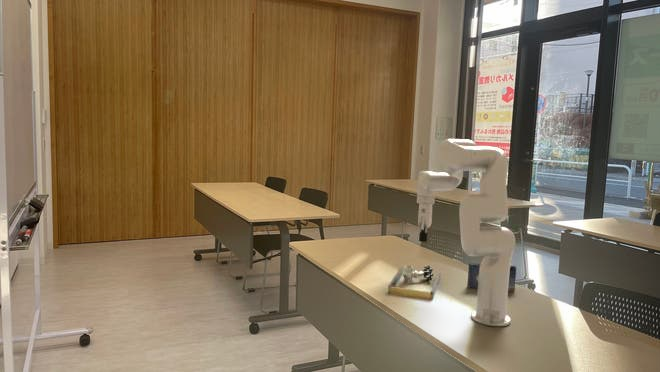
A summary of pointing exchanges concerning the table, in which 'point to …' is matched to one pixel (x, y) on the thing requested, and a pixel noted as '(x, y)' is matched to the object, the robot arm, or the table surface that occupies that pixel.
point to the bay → (410, 292)
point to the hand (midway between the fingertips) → (422, 241)
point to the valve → (416, 274)
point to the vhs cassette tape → (474, 277)
